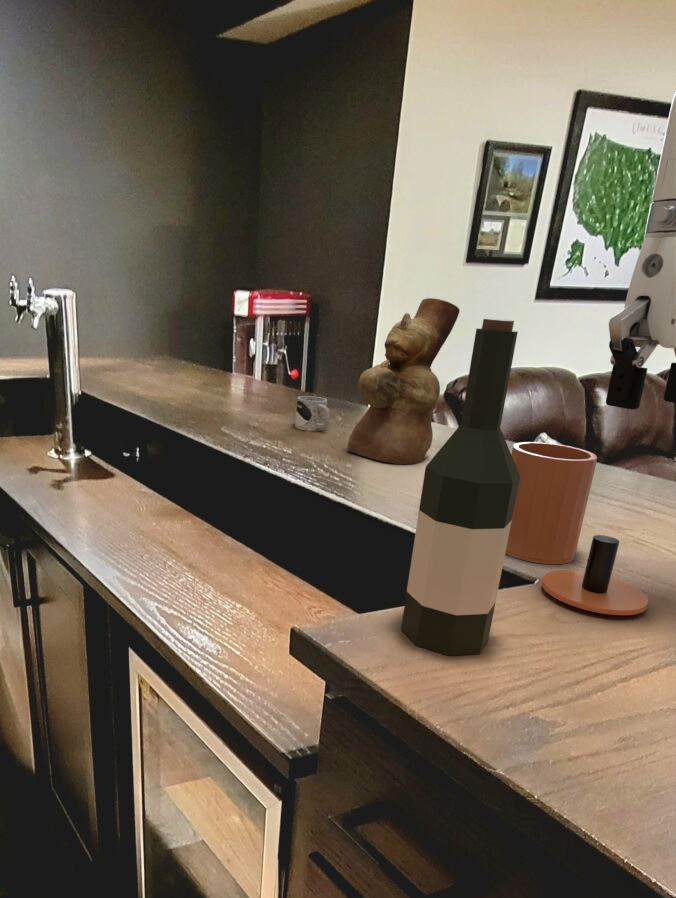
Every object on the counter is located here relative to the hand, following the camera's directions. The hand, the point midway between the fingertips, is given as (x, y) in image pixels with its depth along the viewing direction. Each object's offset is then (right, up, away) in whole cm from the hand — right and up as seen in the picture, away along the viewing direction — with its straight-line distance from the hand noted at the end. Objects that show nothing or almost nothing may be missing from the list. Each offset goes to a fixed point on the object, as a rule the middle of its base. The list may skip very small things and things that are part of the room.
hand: (651, 405), depth 73 cm
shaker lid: (-2, -20, +8) cm, 22 cm away
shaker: (-3, -16, +22) cm, 27 cm away
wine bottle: (-22, -23, -3) cm, 32 cm away
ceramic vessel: (-9, +1, +71) cm, 72 cm away
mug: (-24, +8, +89) cm, 93 cm away
